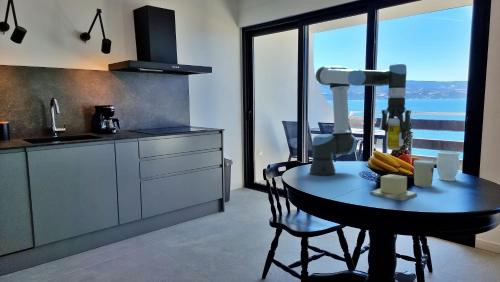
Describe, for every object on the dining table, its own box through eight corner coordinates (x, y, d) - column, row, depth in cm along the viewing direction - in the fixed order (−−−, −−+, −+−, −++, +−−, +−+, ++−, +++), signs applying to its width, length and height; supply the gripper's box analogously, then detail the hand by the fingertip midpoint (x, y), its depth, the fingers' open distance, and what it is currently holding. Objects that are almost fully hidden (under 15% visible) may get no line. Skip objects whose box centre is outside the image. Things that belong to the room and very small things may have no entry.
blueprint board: (370, 194, 151) (370, 191, 151) (385, 189, 159) (385, 186, 159) (402, 200, 140) (402, 197, 139) (416, 195, 148) (417, 192, 148)
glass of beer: (385, 149, 161) (386, 118, 160) (390, 147, 166) (391, 117, 164) (397, 150, 157) (399, 118, 155) (402, 149, 161) (404, 118, 159)
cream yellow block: (380, 191, 150) (380, 176, 149) (389, 188, 155) (389, 174, 154) (397, 195, 144) (398, 179, 143) (406, 192, 149) (407, 176, 148)
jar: (462, 180, 176) (464, 152, 174) (449, 182, 172) (450, 153, 171) (444, 176, 186) (445, 150, 184) (431, 178, 182) (432, 151, 180)
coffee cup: (436, 187, 162) (437, 163, 161) (415, 186, 164) (416, 162, 163) (430, 183, 171) (431, 160, 170) (410, 182, 173) (411, 159, 172)
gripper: (374, 97, 163) (372, 144, 166) (412, 96, 149) (410, 147, 151) (382, 97, 168) (380, 143, 170) (420, 96, 153) (417, 146, 156)
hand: (394, 145), depth 161 cm, fingers closed on glass of beer, 6 cm apart
